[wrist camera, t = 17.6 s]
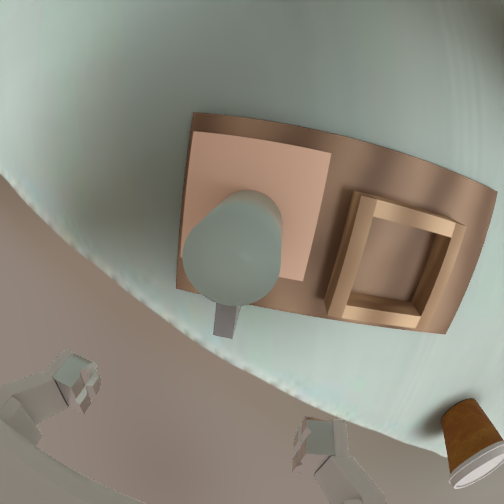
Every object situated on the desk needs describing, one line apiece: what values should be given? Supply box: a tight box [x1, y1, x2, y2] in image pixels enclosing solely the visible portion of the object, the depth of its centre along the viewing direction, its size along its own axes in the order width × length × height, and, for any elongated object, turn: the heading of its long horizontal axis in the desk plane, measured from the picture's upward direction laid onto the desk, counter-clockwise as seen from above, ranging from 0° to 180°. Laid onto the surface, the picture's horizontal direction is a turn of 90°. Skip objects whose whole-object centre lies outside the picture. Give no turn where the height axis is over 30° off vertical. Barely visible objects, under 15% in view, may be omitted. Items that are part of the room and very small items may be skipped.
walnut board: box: [176, 112, 497, 334], centre depth 21 cm, size 27×15×4 cm, turn 81°
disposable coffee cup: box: [441, 399, 504, 489], centre depth 23 cm, size 10×10×12 cm
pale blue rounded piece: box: [182, 190, 282, 339], centre depth 18 cm, size 8×5×8 cm, turn 171°
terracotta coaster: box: [180, 131, 331, 281], centre depth 21 cm, size 10×10×1 cm
